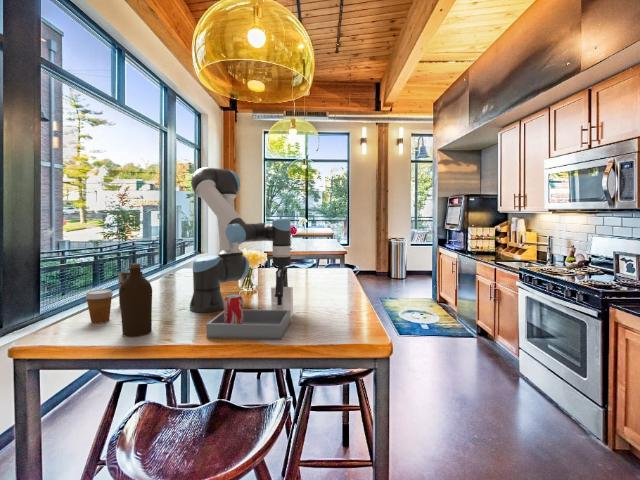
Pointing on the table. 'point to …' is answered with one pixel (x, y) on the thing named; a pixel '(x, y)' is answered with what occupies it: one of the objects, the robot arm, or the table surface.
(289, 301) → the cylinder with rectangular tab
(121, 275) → the coffee box
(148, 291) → the brown growler jug
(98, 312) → the disposable coffee cup
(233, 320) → the soda can
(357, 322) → the table surface
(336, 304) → the table surface
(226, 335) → the tote
